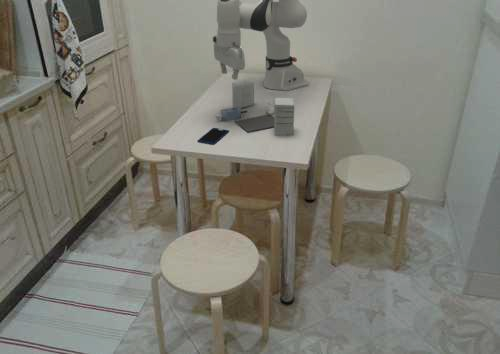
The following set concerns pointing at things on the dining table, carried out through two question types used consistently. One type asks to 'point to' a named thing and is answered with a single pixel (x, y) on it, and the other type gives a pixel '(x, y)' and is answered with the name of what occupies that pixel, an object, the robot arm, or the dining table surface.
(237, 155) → the dining table surface
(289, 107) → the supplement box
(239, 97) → the photo printer
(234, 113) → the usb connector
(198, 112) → the dining table surface
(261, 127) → the rubber mat
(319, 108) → the dining table surface
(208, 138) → the cell phone
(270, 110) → the white connector
